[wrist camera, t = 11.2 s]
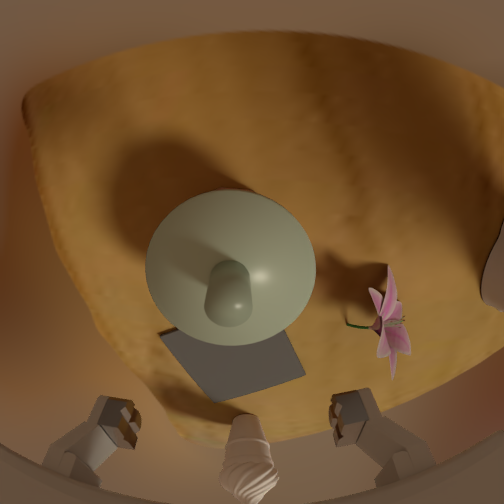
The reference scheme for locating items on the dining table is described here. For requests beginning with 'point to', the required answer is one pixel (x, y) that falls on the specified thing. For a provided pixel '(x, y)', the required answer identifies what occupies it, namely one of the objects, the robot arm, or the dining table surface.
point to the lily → (389, 324)
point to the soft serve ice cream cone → (247, 461)
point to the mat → (235, 364)
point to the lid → (230, 267)
